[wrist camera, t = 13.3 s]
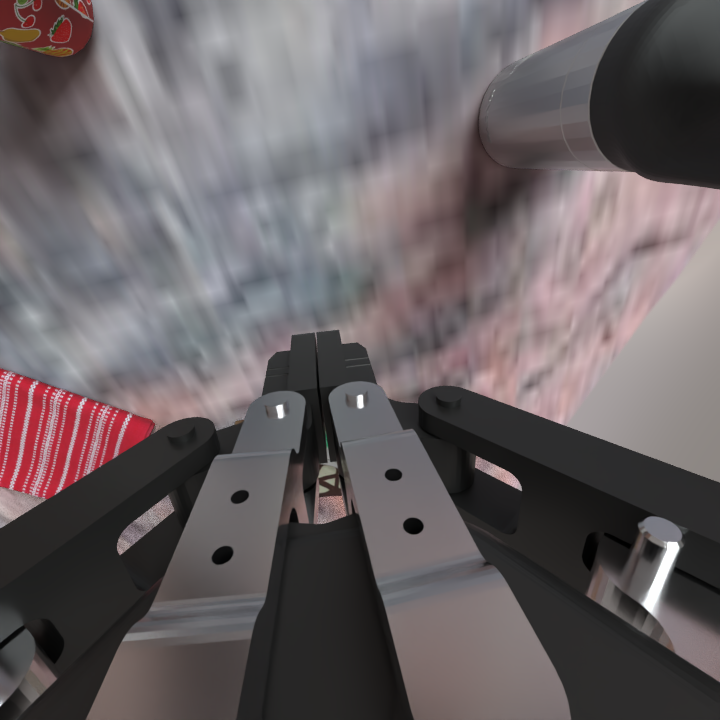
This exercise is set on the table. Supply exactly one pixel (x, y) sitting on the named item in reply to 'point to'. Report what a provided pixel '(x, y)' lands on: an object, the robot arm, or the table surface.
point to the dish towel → (58, 435)
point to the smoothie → (47, 25)
